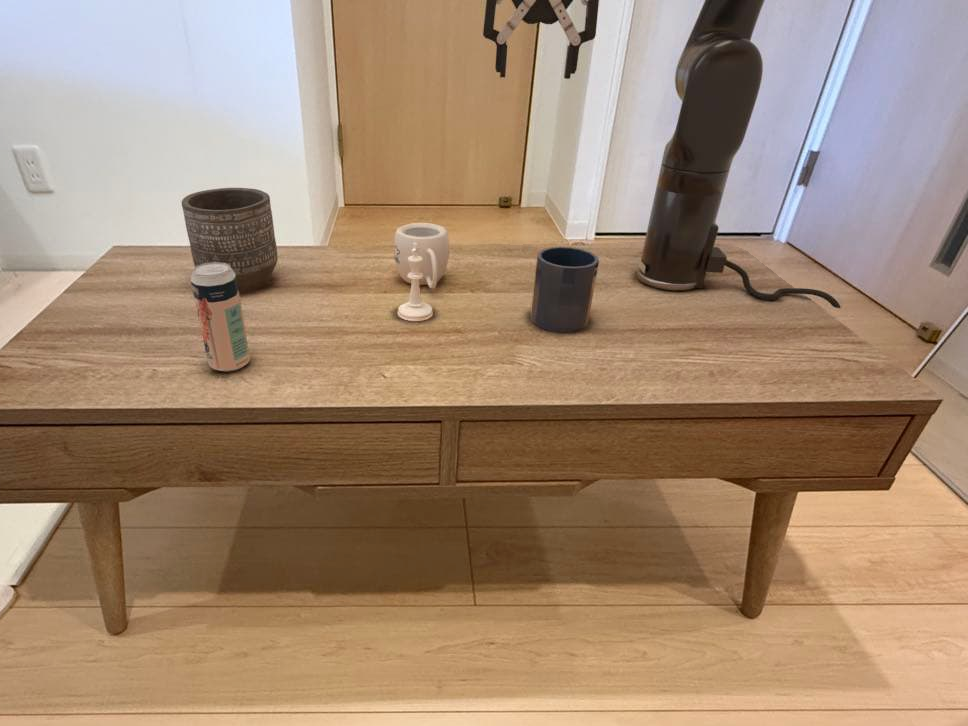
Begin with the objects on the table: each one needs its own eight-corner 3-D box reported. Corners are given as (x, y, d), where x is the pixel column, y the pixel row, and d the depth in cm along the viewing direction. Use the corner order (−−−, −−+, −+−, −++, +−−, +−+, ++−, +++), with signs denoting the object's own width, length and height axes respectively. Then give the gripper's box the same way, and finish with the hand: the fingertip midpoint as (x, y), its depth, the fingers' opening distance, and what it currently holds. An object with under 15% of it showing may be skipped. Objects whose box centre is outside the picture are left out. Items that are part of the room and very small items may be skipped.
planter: (199, 272, 97) (182, 189, 90) (277, 265, 100) (267, 184, 93) (197, 303, 87) (178, 213, 80) (284, 294, 90) (273, 207, 83)
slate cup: (584, 309, 87) (595, 248, 82) (590, 334, 81) (602, 269, 76) (529, 306, 88) (536, 245, 83) (531, 330, 81) (538, 266, 76)
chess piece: (391, 317, 84) (390, 247, 79) (406, 303, 88) (405, 235, 82) (424, 324, 83) (425, 252, 77) (438, 309, 86) (439, 240, 81)
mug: (389, 271, 98) (387, 223, 94) (439, 267, 100) (440, 219, 96) (407, 301, 89) (406, 249, 84) (462, 295, 91) (465, 244, 86)
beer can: (214, 354, 75) (194, 261, 68) (253, 353, 75) (237, 260, 69) (205, 375, 71) (183, 277, 64) (247, 373, 71) (229, 276, 65)
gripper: (606, -73, 75) (585, 76, 84) (490, -74, 76) (482, 73, 85) (614, -80, 69) (591, 82, 78) (488, -80, 70) (479, 79, 79)
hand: (534, 77), depth 82 cm, fingers open, 8 cm apart
